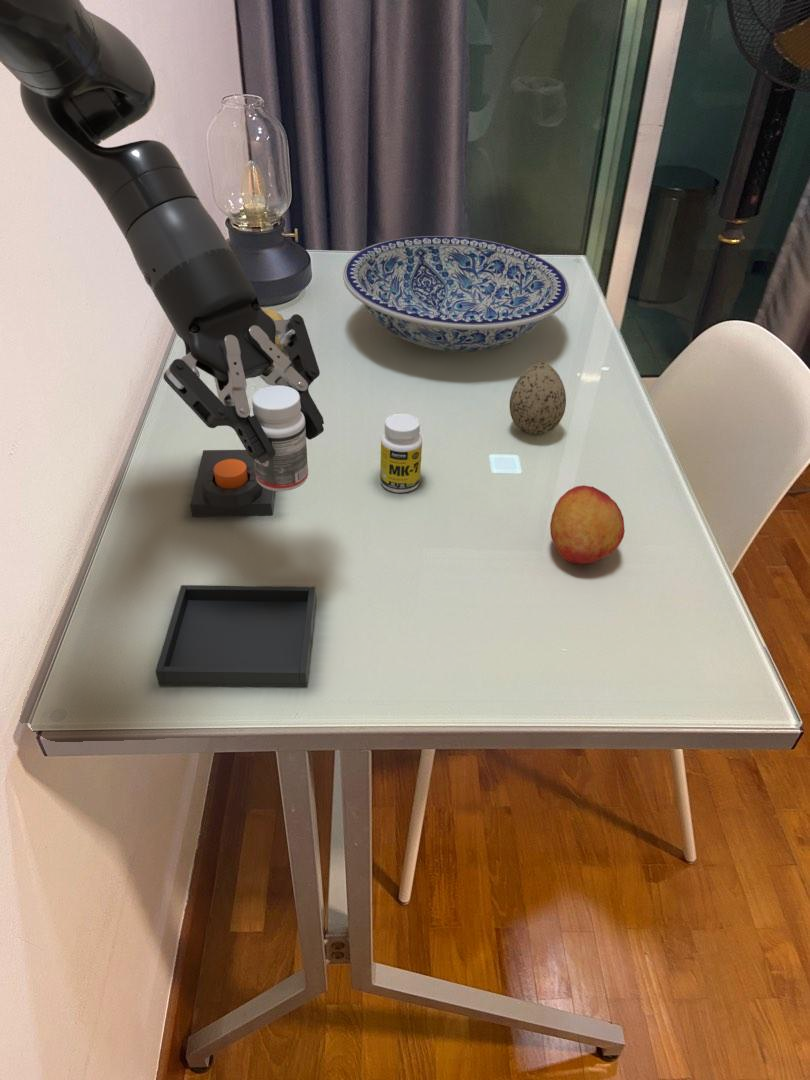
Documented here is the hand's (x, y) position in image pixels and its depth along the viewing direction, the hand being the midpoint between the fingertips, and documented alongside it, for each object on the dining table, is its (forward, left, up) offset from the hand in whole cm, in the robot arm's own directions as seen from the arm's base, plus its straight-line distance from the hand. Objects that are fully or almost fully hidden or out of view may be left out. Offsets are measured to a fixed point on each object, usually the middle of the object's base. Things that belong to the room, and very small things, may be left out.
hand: (293, 446), depth 70 cm
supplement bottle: (+18, +14, -18) cm, 29 cm away
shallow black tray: (-7, -3, -18) cm, 20 cm away
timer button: (-2, +18, -15) cm, 24 cm away
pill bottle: (-1, +2, -4) cm, 5 cm away
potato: (+14, +52, -18) cm, 57 cm away
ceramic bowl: (+43, +47, -18) cm, 66 cm away
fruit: (+30, -6, -18) cm, 35 cm away
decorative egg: (+39, +17, -18) cm, 46 cm away
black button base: (0, +21, -18) cm, 28 cm away
